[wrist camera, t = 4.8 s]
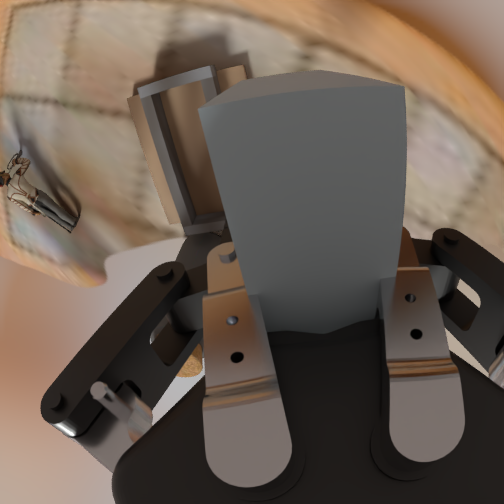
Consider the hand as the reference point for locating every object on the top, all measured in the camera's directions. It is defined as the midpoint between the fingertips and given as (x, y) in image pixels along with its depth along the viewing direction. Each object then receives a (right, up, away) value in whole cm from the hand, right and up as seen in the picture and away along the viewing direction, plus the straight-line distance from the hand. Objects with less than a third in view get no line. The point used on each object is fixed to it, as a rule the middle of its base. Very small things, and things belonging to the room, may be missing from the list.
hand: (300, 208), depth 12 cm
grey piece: (-7, +8, +14) cm, 18 cm away
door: (0, +1, +1) cm, 1 cm away
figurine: (-28, +7, +18) cm, 34 cm away
